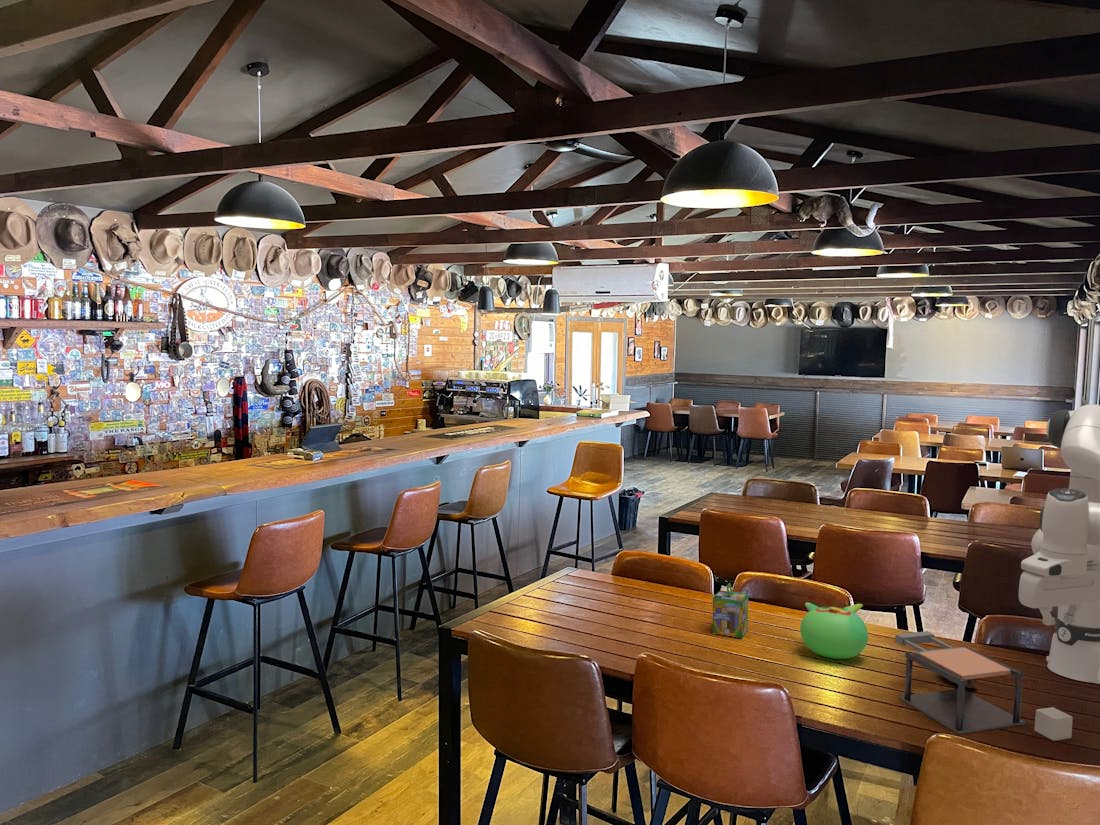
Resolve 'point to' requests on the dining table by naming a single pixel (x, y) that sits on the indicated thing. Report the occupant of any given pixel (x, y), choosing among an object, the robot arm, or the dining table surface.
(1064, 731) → the grey cube
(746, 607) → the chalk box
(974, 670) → the trapdoor
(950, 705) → the stand
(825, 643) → the green rounded blob
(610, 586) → the dining table surface
